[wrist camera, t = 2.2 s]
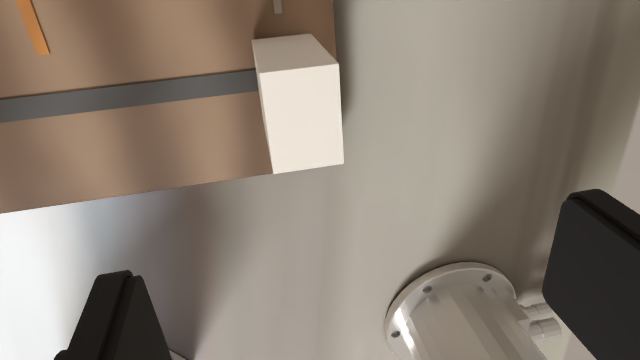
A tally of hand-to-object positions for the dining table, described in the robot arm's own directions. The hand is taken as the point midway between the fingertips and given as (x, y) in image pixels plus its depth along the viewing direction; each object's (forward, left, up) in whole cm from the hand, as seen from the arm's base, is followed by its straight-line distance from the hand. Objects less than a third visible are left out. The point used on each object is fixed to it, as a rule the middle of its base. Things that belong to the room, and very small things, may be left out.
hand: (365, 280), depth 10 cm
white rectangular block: (0, 0, -17) cm, 17 cm away
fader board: (+8, 0, -20) cm, 22 cm away
